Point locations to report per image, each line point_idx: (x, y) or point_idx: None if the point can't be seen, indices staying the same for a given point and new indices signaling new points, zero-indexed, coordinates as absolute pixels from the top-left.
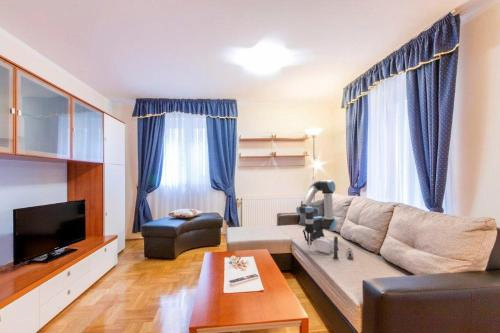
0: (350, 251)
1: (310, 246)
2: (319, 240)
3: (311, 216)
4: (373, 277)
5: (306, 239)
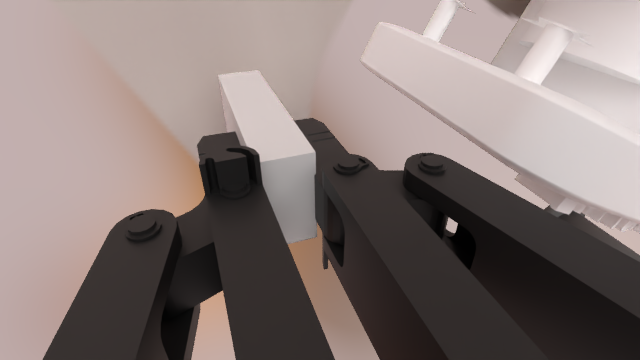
0: None
1: (266, 82)
2: (613, 220)
3: None
4: None
5: (195, 325)
